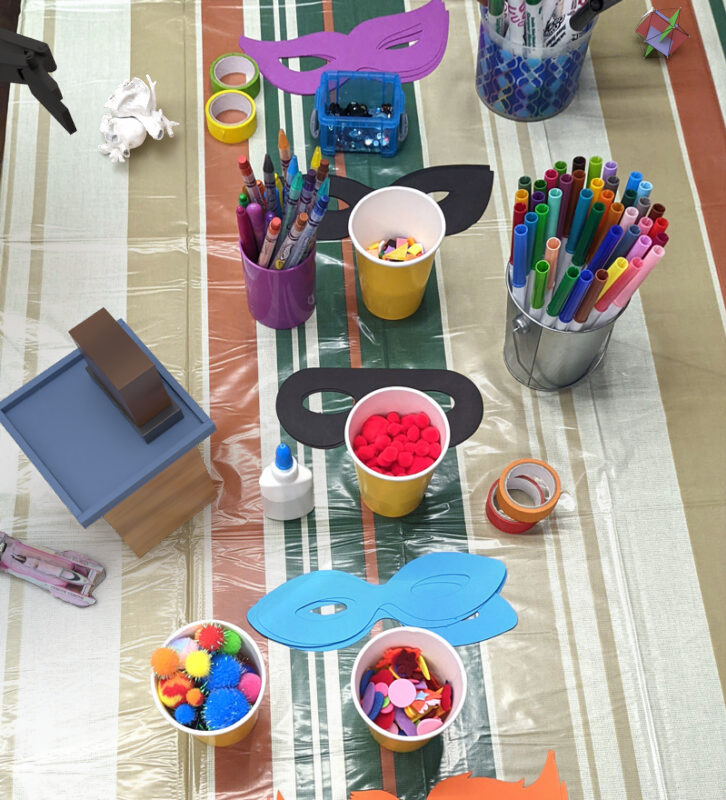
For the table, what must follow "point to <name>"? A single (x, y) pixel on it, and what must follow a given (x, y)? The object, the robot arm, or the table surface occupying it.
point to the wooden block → (163, 503)
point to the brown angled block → (125, 375)
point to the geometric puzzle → (661, 32)
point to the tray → (94, 435)
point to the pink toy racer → (52, 569)
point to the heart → (132, 119)
